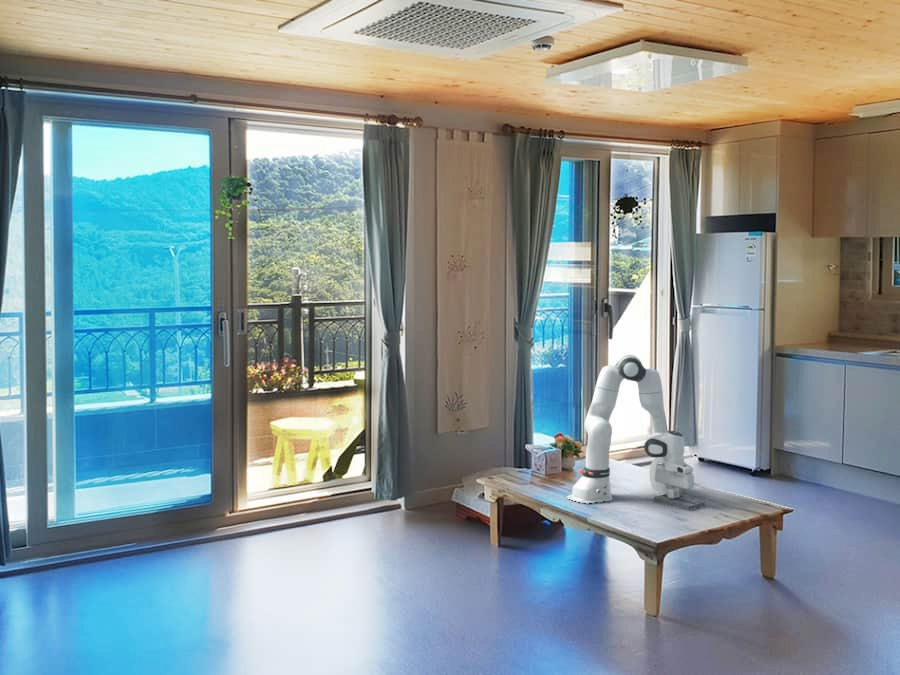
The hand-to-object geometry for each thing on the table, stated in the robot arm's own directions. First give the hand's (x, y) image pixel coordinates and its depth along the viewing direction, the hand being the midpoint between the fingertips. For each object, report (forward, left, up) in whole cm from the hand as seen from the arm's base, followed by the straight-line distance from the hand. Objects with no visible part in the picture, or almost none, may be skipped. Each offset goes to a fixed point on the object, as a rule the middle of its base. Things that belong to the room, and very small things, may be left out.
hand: (673, 494), depth 408 cm
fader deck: (0, -3, -4) cm, 5 cm away
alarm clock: (+11, +12, -4) cm, 17 cm away
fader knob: (0, 0, -2) cm, 2 cm away
